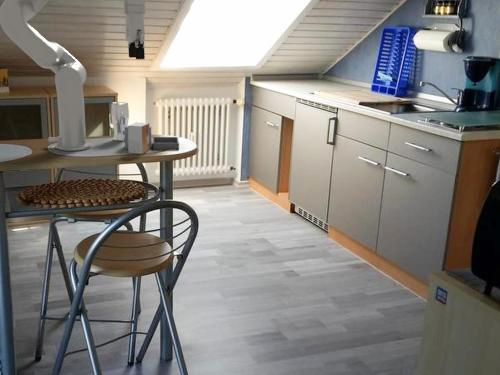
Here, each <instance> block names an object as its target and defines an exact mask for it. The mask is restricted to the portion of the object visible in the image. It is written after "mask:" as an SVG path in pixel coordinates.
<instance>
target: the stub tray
mask: <svg viewBox="0 0 500 375" xmlns="http://www.w3.org/2000/svg"><path fill="white" fill-rule="evenodd" d="M152 150H154V151H155V150H165V151H166V150H180V142H179V137H178V136H153V137H152Z"/></svg>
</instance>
